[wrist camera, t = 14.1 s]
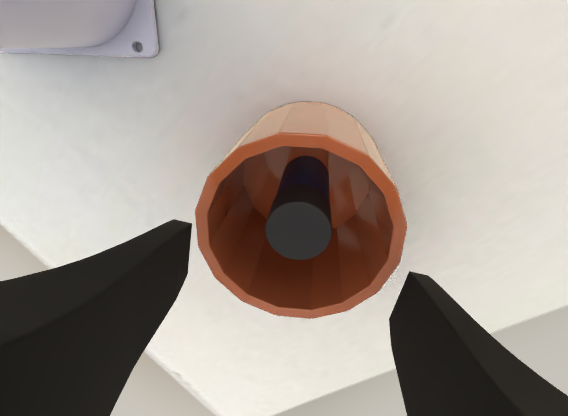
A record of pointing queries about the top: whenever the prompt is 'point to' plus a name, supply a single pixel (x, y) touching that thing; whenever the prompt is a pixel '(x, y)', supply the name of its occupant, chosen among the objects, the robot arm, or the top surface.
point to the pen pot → (344, 214)
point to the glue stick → (301, 210)
